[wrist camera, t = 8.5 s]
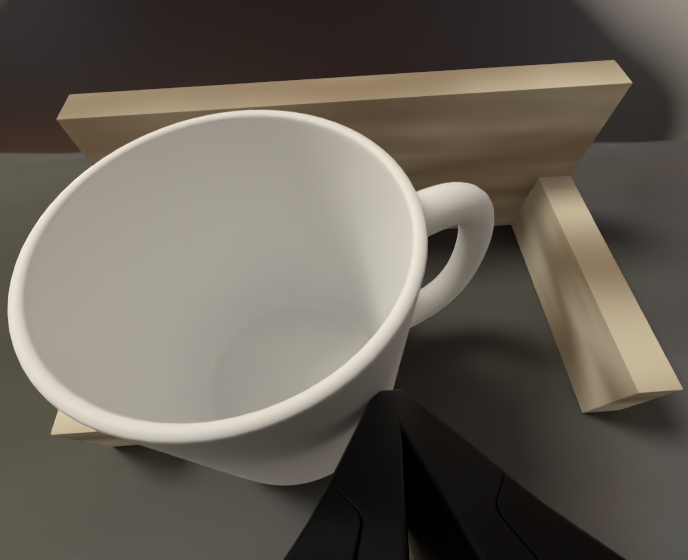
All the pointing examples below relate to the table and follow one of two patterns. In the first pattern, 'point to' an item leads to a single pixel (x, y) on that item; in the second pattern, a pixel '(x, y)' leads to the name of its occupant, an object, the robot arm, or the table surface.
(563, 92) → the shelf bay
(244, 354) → the cup
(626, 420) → the table surface
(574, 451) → the table surface
